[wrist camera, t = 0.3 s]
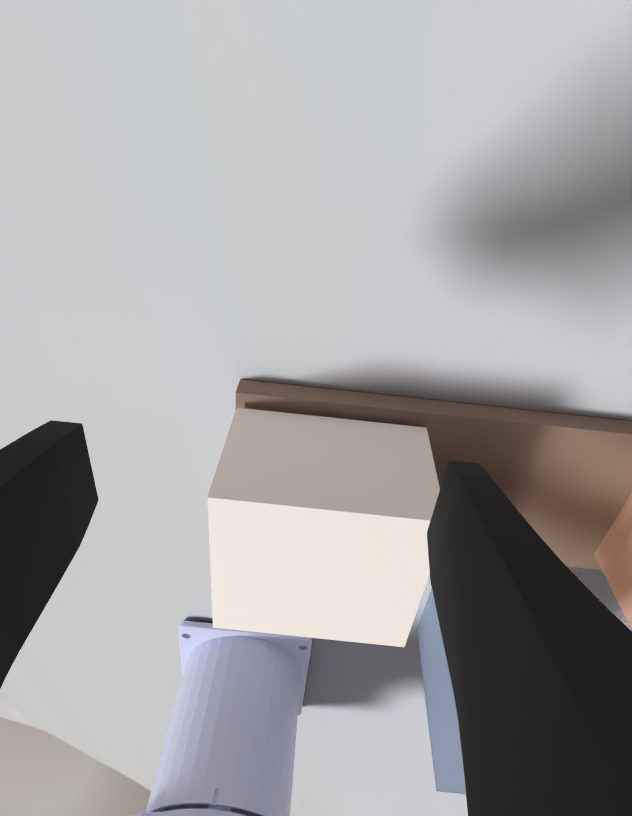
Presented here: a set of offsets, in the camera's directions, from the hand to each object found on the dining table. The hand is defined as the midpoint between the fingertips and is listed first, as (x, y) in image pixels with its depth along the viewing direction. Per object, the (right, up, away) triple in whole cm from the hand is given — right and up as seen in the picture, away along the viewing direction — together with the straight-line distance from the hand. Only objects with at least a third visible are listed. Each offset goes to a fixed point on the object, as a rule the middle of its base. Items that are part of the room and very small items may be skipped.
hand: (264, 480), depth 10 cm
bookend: (+1, -2, +12) cm, 12 cm away
